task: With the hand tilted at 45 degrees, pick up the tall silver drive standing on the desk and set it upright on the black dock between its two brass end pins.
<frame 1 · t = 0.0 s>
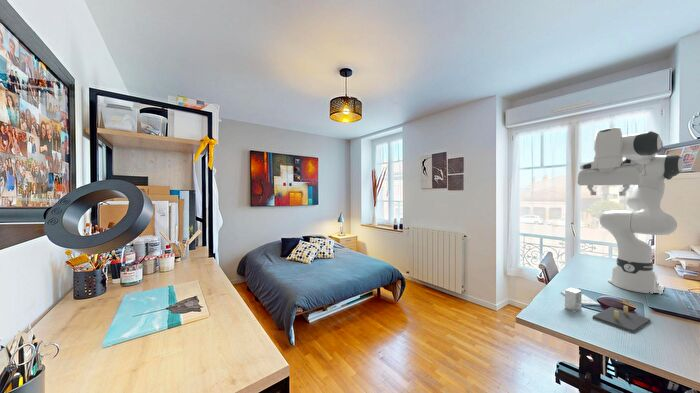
hand: (607, 195, 111), 48 cm above the table, tool pointing down, fingers open, 8 cm apart
external hard drive: (579, 301, 114), on the table
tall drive: (573, 308, 106), on the table
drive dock: (621, 320, 96), on the table
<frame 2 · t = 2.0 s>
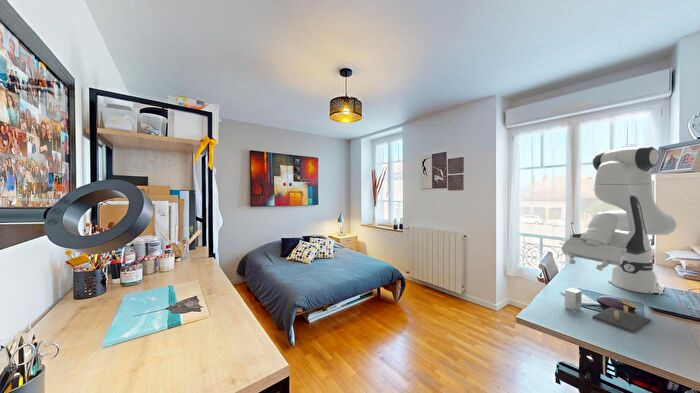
hand: (584, 266, 110), 17 cm above the table, tool tilted 45°, fingers open, 8 cm apart
nothing on the table moved.
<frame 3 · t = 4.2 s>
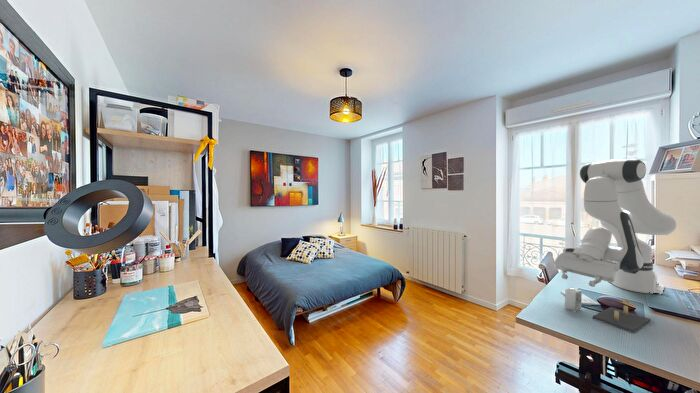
hand: (577, 281, 108), 11 cm above the table, tool tilted 45°, fingers open, 8 cm apart
nothing on the table moved.
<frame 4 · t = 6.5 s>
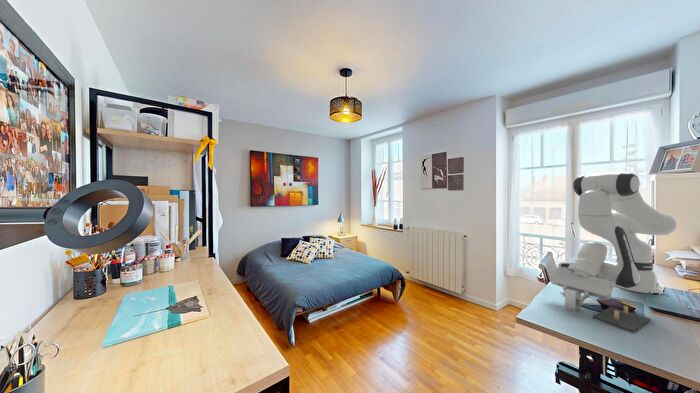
hand: (572, 298, 106), 4 cm above the table, tool tilted 45°, fingers closed on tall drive, 4 cm apart
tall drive: (573, 308, 106), on the table, touching gripper
everything else where it was.
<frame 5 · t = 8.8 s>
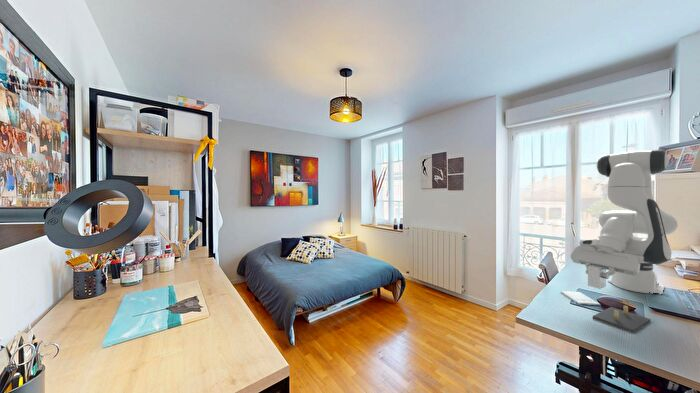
hand: (596, 275, 100), 16 cm above the table, tool tilted 45°, fingers closed on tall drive, 4 cm apart
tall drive: (596, 286, 100), point 12 cm above the table, touching gripper
everything else where it was.
when the fingers open (7 cm above the table, at t = 11.3 s): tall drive drops 1 cm, resting on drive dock.
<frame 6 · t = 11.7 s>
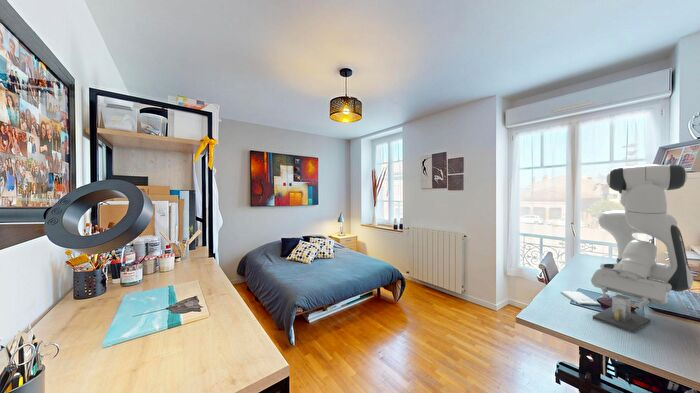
hand: (620, 303, 96), 7 cm above the table, tool tilted 45°, fingers open, 8 cm apart
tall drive: (621, 317, 96), point 1 cm above the table, touching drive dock
everything else where it was.
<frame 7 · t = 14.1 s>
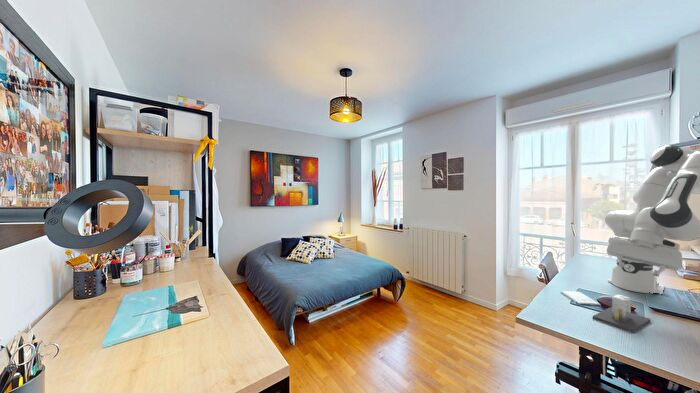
hand: (637, 270, 101), 18 cm above the table, tool tilted 40°, fingers open, 8 cm apart
nothing on the table moved.
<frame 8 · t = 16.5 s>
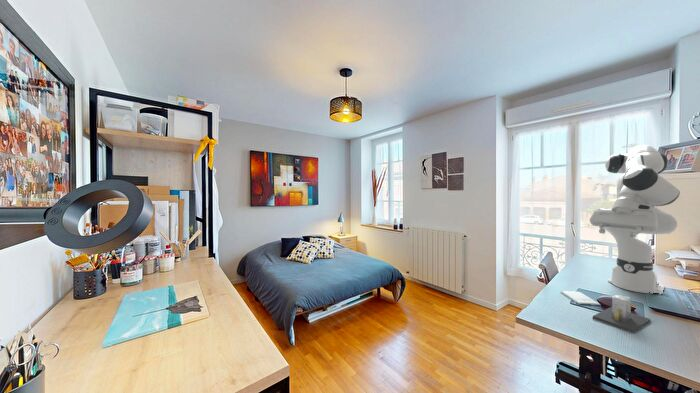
hand: (616, 234, 106), 31 cm above the table, tool tilted 45°, fingers open, 8 cm apart
nothing on the table moved.
at the end: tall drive 0.0 cm off-centre on the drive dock, point 1.0 cm above the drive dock's base; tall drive tilted 0°; the gripper is holding nothing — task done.
